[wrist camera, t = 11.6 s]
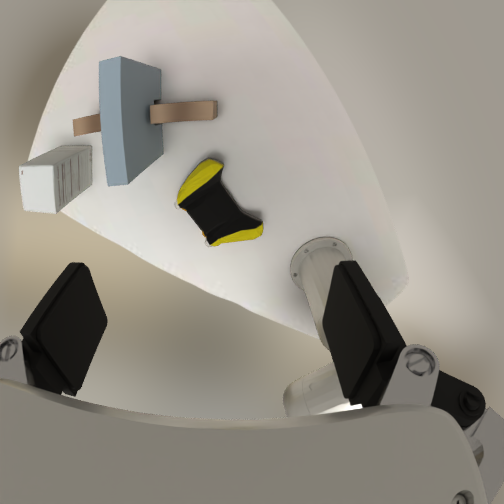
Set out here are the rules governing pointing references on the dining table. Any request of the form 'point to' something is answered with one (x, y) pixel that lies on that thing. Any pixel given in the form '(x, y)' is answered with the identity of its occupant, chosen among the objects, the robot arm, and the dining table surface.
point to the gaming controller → (215, 207)
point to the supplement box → (55, 178)
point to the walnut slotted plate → (157, 115)
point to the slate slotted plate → (128, 118)
